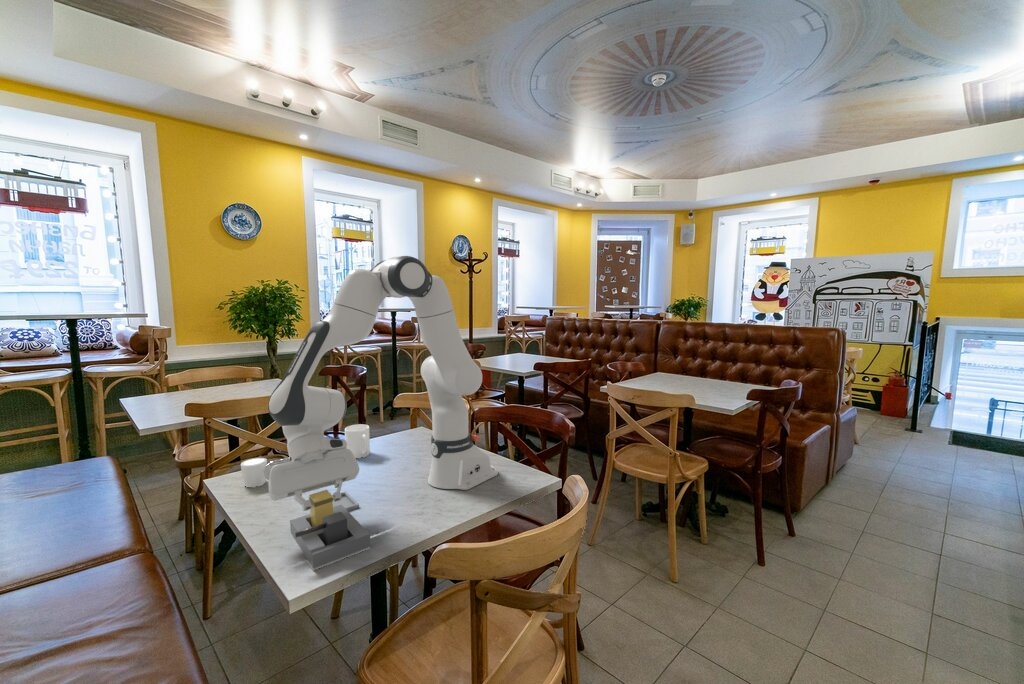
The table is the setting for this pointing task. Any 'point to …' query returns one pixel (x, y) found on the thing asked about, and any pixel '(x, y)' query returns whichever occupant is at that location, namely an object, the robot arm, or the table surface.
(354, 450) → the cup
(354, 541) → the grey socket block
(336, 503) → the tray
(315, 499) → the plug
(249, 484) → the white cylinder
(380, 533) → the table surface
